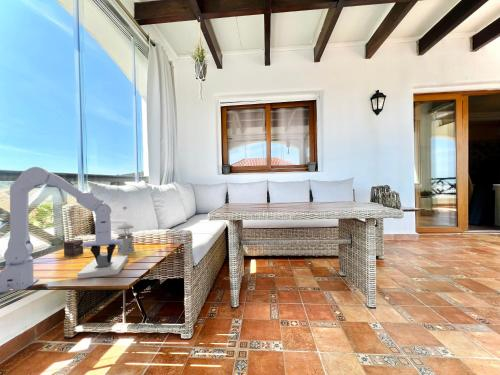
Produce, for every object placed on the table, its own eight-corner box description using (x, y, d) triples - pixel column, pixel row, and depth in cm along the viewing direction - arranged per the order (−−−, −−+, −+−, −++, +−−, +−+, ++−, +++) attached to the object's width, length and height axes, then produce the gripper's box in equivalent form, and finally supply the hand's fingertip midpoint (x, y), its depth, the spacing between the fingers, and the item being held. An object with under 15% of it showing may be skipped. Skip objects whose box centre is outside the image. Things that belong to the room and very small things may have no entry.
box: (73, 256, 121) (72, 242, 121) (63, 256, 123) (63, 242, 123) (83, 253, 127) (83, 239, 127) (74, 252, 129) (74, 239, 128)
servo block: (107, 267, 99) (106, 255, 99) (97, 268, 98) (97, 256, 98) (110, 263, 104) (110, 252, 104) (101, 264, 103) (101, 253, 103)
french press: (114, 255, 121) (113, 207, 121) (117, 250, 132) (116, 206, 132) (135, 253, 125) (134, 206, 125) (136, 248, 136) (135, 205, 136)
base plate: (117, 274, 95) (117, 269, 95) (77, 278, 91) (77, 273, 91) (128, 259, 115) (127, 255, 114) (95, 262, 110) (95, 258, 110)
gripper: (124, 228, 107) (124, 257, 107) (87, 230, 103) (88, 261, 103) (120, 231, 100) (121, 262, 100) (80, 233, 96) (81, 266, 96)
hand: (104, 262), depth 101 cm, fingers closed on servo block, 3 cm apart
